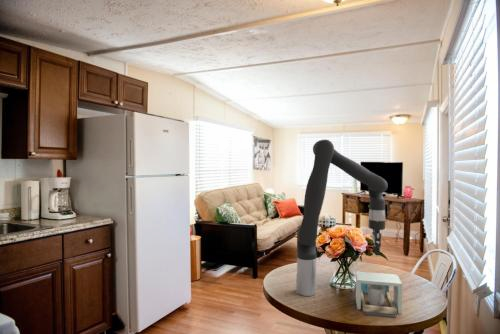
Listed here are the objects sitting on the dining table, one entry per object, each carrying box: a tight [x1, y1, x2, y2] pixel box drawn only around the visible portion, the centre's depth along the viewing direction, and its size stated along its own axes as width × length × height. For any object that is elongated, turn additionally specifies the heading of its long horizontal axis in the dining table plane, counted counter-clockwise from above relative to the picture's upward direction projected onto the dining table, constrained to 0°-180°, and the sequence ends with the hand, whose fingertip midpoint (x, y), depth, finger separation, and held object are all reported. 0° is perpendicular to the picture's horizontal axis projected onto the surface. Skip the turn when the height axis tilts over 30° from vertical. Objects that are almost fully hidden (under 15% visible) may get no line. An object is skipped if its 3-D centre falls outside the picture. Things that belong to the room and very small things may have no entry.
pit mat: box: [364, 311, 397, 319], centre depth 142 cm, size 12×2×1 cm, turn 76°
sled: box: [361, 283, 398, 316], centre depth 155 cm, size 13×24×9 cm, turn 166°
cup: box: [366, 284, 386, 306], centre depth 152 cm, size 11×8×8 cm
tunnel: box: [355, 270, 403, 315], centre depth 152 cm, size 18×12×13 cm, turn 76°
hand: (376, 252), depth 165 cm, fingers open, 8 cm apart
